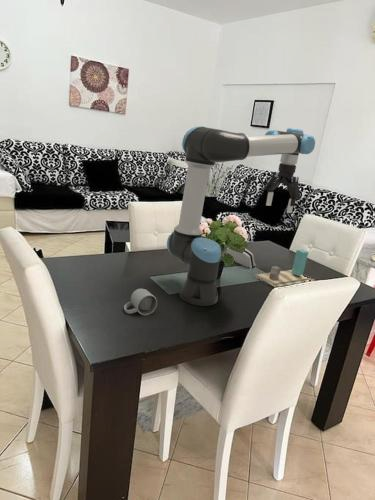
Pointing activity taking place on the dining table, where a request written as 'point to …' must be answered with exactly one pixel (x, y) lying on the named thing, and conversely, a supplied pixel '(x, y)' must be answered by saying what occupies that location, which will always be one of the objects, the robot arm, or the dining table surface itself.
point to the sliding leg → (299, 262)
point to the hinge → (243, 257)
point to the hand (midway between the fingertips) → (278, 209)
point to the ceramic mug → (142, 302)
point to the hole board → (282, 277)
